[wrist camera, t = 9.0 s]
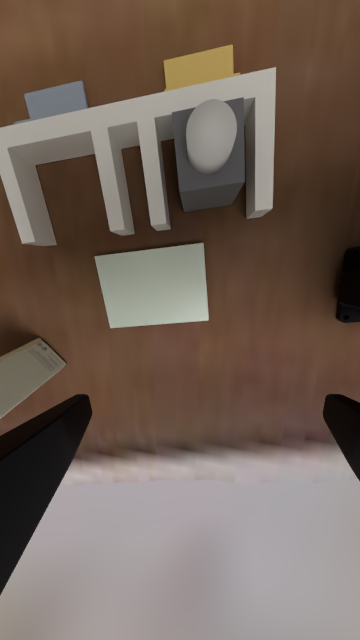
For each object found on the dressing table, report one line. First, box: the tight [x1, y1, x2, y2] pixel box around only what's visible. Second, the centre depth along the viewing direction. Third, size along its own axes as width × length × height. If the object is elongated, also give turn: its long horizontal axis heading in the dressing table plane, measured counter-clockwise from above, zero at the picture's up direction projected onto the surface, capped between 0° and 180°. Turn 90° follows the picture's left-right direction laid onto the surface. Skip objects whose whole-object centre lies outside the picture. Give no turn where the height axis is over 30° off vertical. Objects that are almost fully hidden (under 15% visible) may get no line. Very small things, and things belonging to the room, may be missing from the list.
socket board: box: [0, 44, 276, 246], centre depth 14 cm, size 20×11×2 cm, turn 96°
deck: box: [94, 243, 209, 328], centre depth 18 cm, size 10×7×1 cm
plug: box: [172, 97, 245, 212], centre depth 13 cm, size 4×4×6 cm
